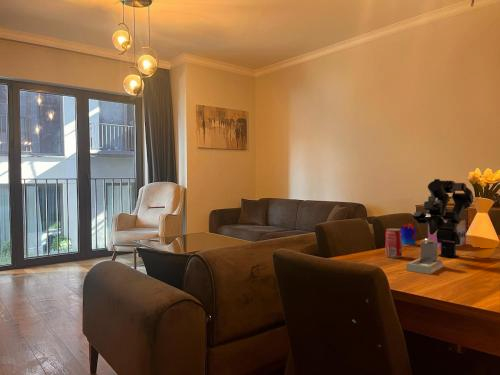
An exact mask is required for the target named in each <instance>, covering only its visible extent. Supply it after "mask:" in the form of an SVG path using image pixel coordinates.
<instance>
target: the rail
mask: <svg viewBox="0 0 500 375" xmlns="http://www.w3.org/2000/svg"><path fill="white" fill-rule="evenodd" d="M405 265H406V266H405V268H406V269H405V270H406V271H408V272H413V273H420V274H427V275H432V274H433V273H435V272H436V271H439V270H440V269H442V268H444V267H445V265H444V263H443V260H442V259H437V261H436V262H434V263H432V264H425V263H421V257H418V258H417V259H414V260H412V261H410V262H406V264H405Z"/></svg>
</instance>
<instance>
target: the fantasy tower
mask: <svg viewBox="0 0 500 375" xmlns="http://www.w3.org/2000/svg"><path fill="white" fill-rule="evenodd" d="M416 228H417V227H414V225H413V224H412V223H408V224H407V223H405V224H403V225H402V226H401V228H400V229H401V230H400V231H401V233H402V247H404V248H412V247H421V243H420V244H417V243H416Z"/></svg>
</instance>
